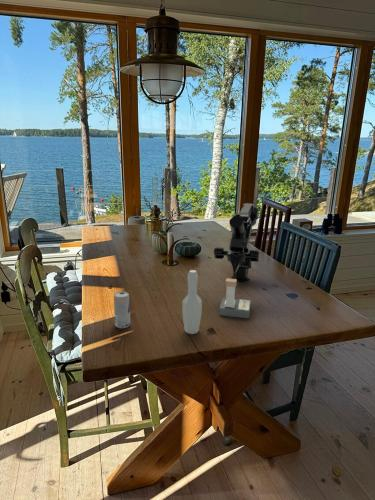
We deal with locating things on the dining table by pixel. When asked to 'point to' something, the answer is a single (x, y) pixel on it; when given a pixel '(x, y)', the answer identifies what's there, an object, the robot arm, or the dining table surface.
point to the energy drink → (122, 309)
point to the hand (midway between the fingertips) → (234, 272)
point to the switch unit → (236, 308)
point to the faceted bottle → (192, 305)
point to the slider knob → (230, 292)
